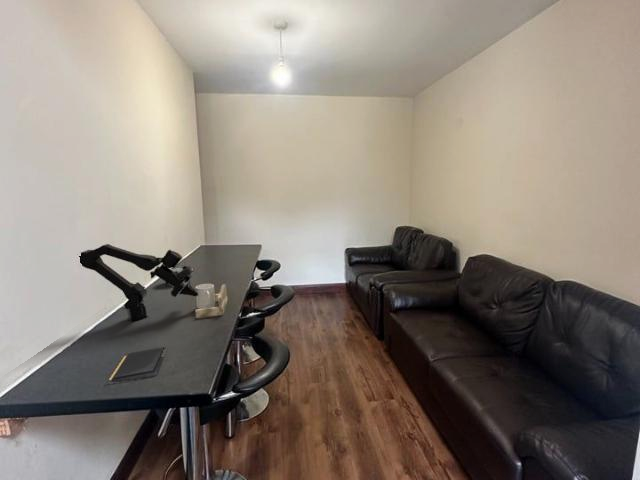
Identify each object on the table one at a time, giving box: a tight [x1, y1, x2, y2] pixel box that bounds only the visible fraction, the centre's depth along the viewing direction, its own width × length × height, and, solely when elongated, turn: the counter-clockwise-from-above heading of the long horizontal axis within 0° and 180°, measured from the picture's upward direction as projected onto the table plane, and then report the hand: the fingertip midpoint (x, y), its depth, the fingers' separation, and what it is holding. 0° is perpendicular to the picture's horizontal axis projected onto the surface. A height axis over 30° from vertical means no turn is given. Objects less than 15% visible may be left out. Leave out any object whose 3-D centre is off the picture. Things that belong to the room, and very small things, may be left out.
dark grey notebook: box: [108, 346, 167, 383], centre depth 112 cm, size 20×2×15 cm
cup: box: [194, 283, 216, 309], centre depth 159 cm, size 8×12×10 cm
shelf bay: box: [194, 283, 228, 319], centre depth 159 cm, size 12×21×8 cm, turn 10°
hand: (197, 295), depth 157 cm, fingers closed
